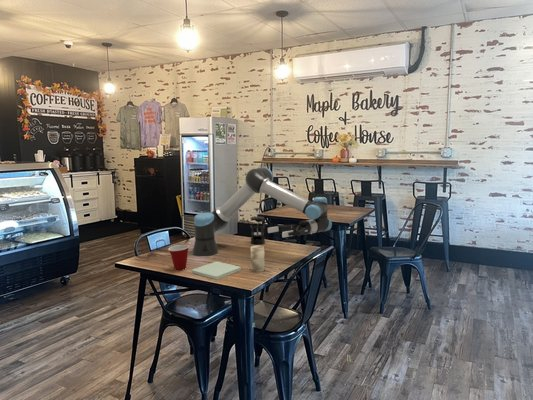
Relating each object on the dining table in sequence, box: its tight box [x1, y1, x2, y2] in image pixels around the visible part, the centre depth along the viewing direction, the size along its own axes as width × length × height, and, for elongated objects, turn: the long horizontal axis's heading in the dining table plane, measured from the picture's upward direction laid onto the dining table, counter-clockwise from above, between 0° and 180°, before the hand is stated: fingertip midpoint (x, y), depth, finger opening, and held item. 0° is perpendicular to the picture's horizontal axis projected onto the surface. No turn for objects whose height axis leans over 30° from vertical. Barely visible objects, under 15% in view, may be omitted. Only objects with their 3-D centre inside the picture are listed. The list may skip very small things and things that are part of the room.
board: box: [190, 260, 242, 280], centre depth 204 cm, size 18×18×2 cm
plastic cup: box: [168, 244, 190, 271], centre depth 208 cm, size 11×11×12 cm
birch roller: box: [250, 244, 266, 273], centre depth 204 cm, size 7×7×12 cm
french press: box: [250, 207, 266, 246], centre depth 259 cm, size 12×9×23 cm
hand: (275, 232), depth 208 cm, fingers open, 13 cm apart
